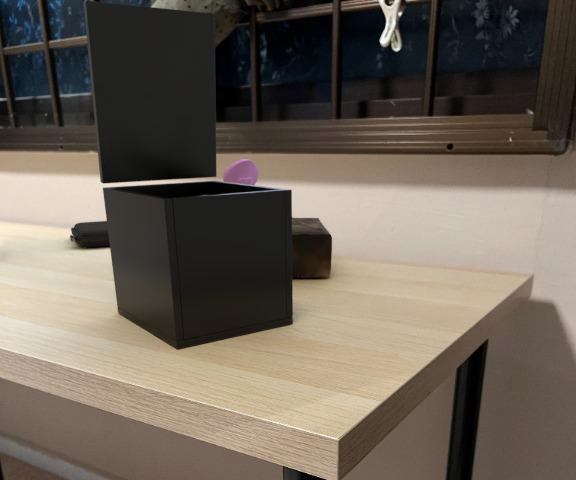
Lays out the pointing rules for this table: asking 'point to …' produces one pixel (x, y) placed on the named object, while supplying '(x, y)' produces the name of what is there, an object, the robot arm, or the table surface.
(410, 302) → the table surface
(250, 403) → the table surface
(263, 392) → the table surface
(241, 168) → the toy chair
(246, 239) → the trash can
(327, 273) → the dark brown block
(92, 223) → the carrying case
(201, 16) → the black lid
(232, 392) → the table surface
